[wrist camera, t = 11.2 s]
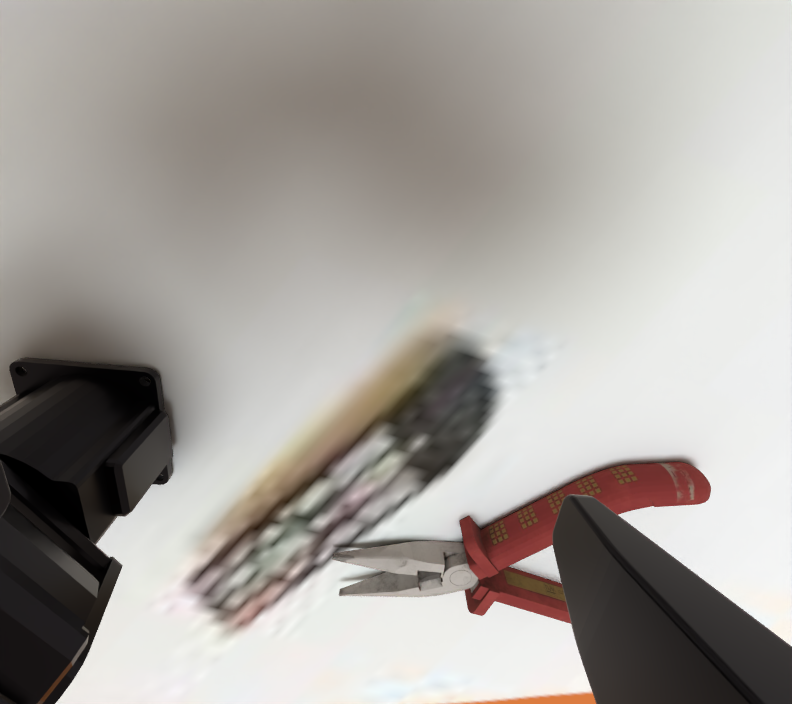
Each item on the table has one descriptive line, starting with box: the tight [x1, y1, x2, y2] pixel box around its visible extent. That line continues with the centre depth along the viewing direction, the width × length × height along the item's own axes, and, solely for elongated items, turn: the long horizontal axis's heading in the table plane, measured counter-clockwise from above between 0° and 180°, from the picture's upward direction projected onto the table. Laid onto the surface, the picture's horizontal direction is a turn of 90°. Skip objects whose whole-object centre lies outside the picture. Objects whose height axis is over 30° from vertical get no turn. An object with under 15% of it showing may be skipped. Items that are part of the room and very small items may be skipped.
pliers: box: [332, 462, 711, 623], centre depth 25 cm, size 12×20×3 cm, turn 96°
